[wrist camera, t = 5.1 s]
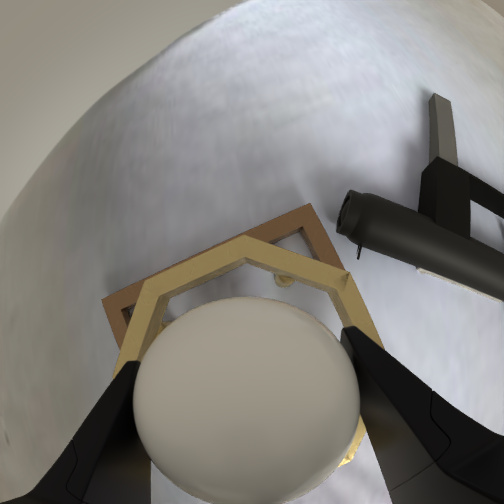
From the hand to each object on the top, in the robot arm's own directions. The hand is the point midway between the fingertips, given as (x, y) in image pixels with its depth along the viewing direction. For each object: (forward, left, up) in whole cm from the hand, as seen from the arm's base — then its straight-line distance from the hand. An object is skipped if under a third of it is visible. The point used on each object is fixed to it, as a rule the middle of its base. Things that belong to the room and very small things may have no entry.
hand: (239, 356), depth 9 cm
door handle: (+19, +1, -8) cm, 20 cm away
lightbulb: (0, -1, -7) cm, 7 cm away
